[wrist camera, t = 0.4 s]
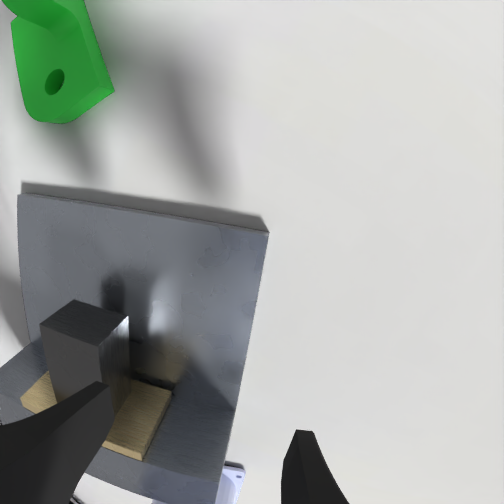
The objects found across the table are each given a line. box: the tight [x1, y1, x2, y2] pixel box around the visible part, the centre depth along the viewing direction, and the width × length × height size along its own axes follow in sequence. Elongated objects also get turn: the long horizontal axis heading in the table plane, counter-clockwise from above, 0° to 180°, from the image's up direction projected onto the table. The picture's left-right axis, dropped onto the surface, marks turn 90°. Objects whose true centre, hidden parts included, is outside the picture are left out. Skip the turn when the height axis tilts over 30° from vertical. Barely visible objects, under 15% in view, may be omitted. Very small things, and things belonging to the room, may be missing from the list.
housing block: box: [0, 193, 269, 504], centre depth 17 cm, size 18×18×8 cm
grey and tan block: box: [20, 299, 172, 461], centre depth 17 cm, size 11×9×6 cm
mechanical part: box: [2, 0, 115, 124], centre depth 12 cm, size 12×6×8 cm, turn 24°
